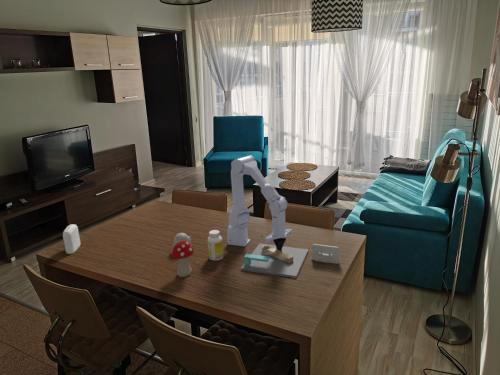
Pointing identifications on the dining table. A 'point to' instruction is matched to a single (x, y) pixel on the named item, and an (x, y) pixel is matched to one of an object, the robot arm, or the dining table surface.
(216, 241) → the supplement bottle
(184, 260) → the decorative mushroom
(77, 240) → the photo printer
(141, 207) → the dining table surface
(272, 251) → the beech link
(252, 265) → the light grey baseplate
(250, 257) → the plate
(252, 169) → the robot arm
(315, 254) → the cassette
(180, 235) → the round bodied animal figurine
